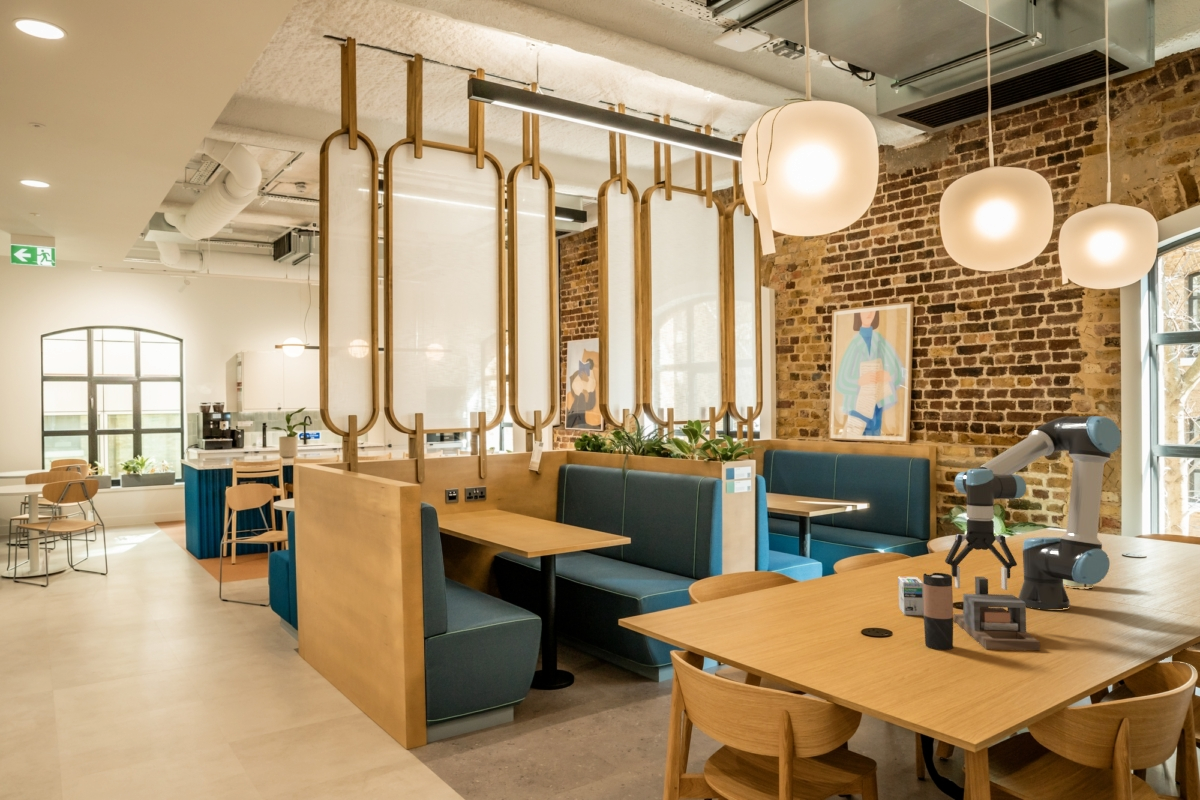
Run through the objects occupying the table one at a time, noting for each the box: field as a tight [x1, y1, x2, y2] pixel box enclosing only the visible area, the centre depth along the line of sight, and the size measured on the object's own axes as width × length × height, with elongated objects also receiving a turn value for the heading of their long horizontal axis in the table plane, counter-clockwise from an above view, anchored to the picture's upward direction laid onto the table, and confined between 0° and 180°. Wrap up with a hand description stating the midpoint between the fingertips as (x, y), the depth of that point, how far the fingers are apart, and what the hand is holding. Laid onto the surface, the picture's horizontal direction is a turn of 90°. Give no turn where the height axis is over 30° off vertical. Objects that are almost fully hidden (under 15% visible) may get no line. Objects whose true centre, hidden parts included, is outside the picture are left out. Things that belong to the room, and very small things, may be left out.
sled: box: [962, 576, 1018, 631], centre depth 236 cm, size 17×10×12 cm, turn 172°
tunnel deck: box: [953, 593, 1041, 651], centre depth 232 cm, size 30×14×11 cm, turn 172°
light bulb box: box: [897, 575, 924, 617], centre depth 261 cm, size 11×7×11 cm, turn 168°
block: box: [980, 607, 1010, 623], centre depth 232 cm, size 7×6×5 cm
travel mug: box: [922, 572, 954, 651], centre depth 222 cm, size 8×8×20 cm
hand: (980, 588), depth 242 cm, fingers open, 13 cm apart
